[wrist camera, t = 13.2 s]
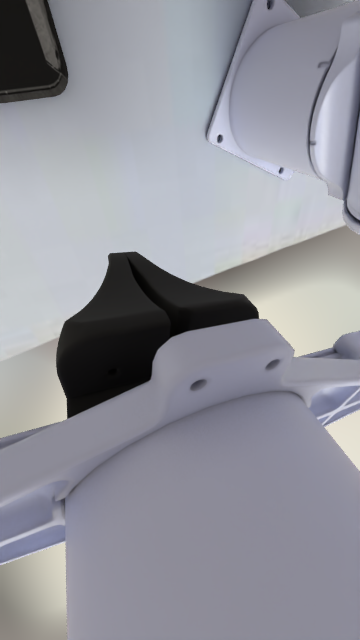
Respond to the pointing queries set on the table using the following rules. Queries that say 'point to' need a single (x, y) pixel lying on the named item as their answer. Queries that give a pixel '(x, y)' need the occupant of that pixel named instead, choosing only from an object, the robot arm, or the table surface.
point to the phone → (29, 52)
